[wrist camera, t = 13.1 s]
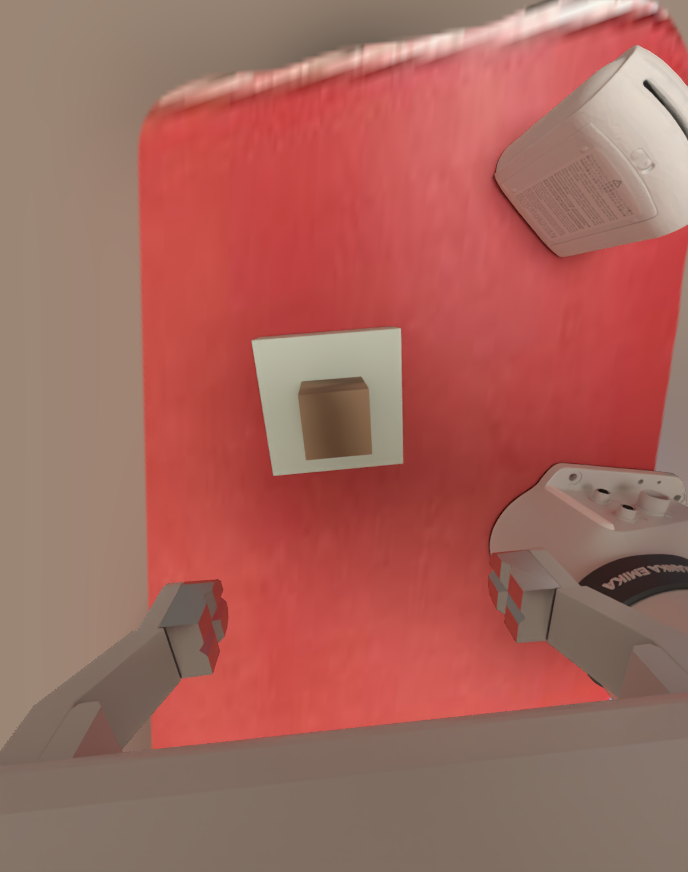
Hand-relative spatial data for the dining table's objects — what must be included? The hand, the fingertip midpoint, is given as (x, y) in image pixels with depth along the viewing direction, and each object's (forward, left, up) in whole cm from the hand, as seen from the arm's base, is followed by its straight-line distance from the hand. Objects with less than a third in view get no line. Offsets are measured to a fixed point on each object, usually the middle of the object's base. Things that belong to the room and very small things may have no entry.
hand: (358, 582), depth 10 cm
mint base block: (0, 0, -25) cm, 25 cm away
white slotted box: (-19, -15, -25) cm, 35 cm away
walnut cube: (0, 0, -21) cm, 21 cm away
